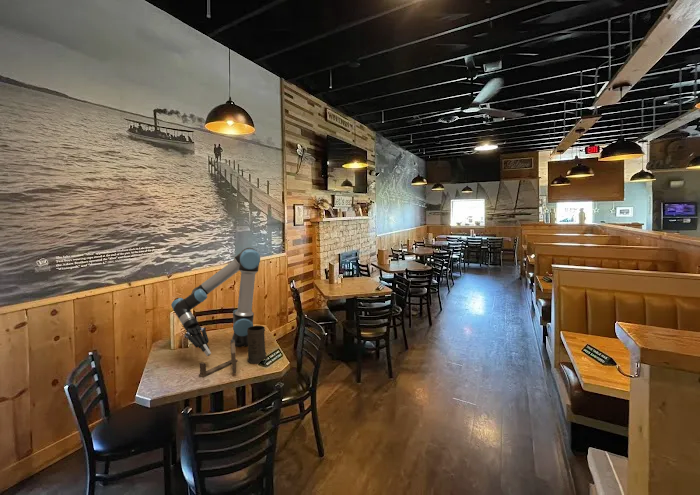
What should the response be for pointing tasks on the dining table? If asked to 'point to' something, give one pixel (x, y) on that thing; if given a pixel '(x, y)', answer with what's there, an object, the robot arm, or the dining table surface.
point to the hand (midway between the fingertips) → (209, 354)
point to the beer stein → (256, 344)
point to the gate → (233, 357)
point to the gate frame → (205, 373)
